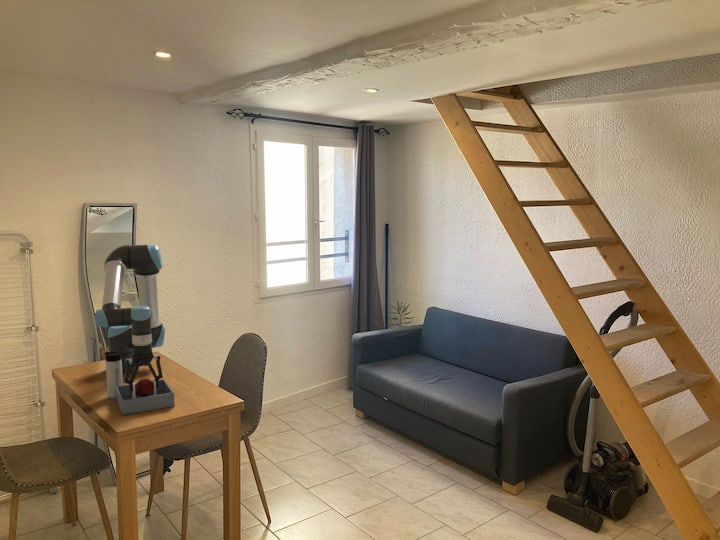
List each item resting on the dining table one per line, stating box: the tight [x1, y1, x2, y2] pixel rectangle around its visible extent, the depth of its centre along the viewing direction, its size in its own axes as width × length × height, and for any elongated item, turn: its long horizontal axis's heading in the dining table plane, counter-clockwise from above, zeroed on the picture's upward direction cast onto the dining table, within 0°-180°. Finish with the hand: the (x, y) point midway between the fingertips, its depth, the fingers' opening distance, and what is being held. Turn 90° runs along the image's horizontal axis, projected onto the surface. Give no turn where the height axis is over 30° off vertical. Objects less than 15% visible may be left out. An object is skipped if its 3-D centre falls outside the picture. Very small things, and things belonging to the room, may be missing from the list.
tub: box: [115, 378, 175, 417], centre depth 232 cm, size 20×20×6 cm
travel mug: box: [104, 351, 124, 401], centre depth 238 cm, size 6×7×20 cm
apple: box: [135, 377, 154, 397], centre depth 231 cm, size 7×8×8 cm
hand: (144, 396), depth 232 cm, fingers closed on apple, 7 cm apart
